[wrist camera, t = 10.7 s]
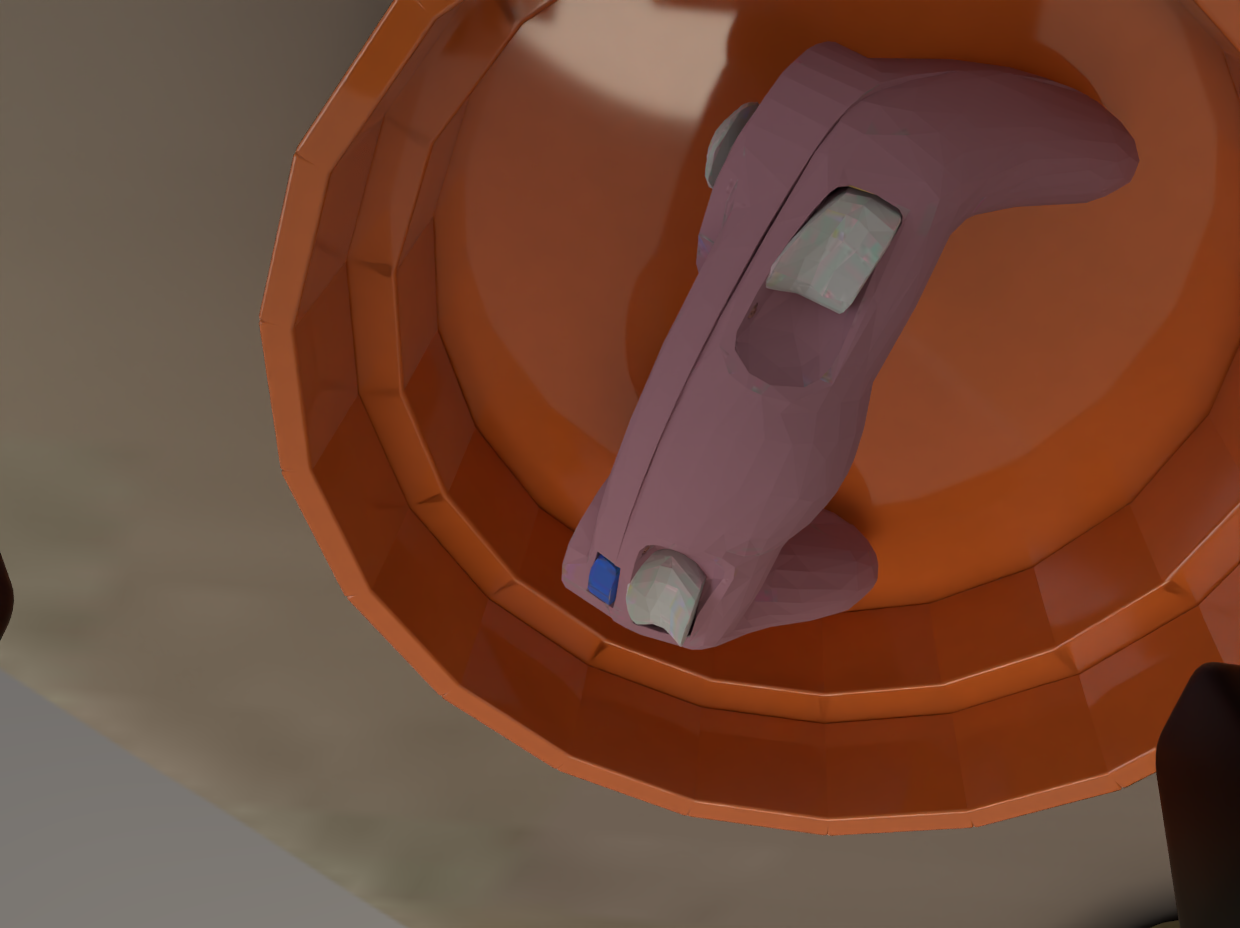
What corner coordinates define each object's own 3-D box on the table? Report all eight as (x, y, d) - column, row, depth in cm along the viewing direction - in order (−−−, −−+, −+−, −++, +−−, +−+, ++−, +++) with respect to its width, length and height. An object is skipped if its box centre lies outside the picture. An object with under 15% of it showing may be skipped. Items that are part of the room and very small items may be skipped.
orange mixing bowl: (400, 587, 24) (323, 766, 20) (334, -287, 15) (167, -278, 11) (1139, 682, 23) (1214, 891, 19) (1557, -194, 14) (1873, -146, 10)
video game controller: (902, -20, 17) (679, 2, 12) (1179, 113, 16) (1070, 206, 10) (685, 464, 23) (468, 626, 17) (874, 591, 21) (703, 809, 16)
